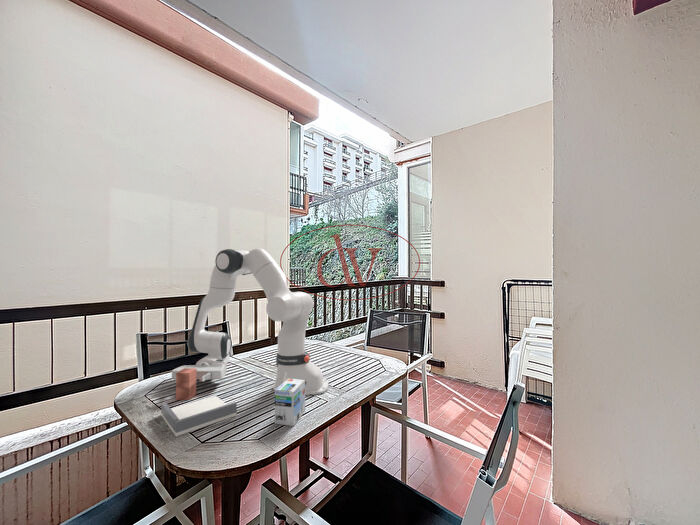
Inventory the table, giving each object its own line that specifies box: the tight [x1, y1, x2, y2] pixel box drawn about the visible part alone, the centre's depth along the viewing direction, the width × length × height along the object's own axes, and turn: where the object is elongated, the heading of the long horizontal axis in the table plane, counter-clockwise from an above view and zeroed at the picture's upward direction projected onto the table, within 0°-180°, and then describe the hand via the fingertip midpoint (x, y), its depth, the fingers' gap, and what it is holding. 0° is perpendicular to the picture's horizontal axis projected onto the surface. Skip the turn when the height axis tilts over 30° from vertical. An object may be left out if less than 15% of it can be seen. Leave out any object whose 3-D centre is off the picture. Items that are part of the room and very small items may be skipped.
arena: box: [160, 395, 238, 437], centre depth 100 cm, size 18×18×4 cm
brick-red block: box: [175, 368, 197, 401], centre depth 114 cm, size 5×5×10 cm
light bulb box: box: [274, 379, 306, 427], centre depth 98 cm, size 11×7×11 cm, turn 168°
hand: (188, 379), depth 115 cm, fingers open, 8 cm apart
